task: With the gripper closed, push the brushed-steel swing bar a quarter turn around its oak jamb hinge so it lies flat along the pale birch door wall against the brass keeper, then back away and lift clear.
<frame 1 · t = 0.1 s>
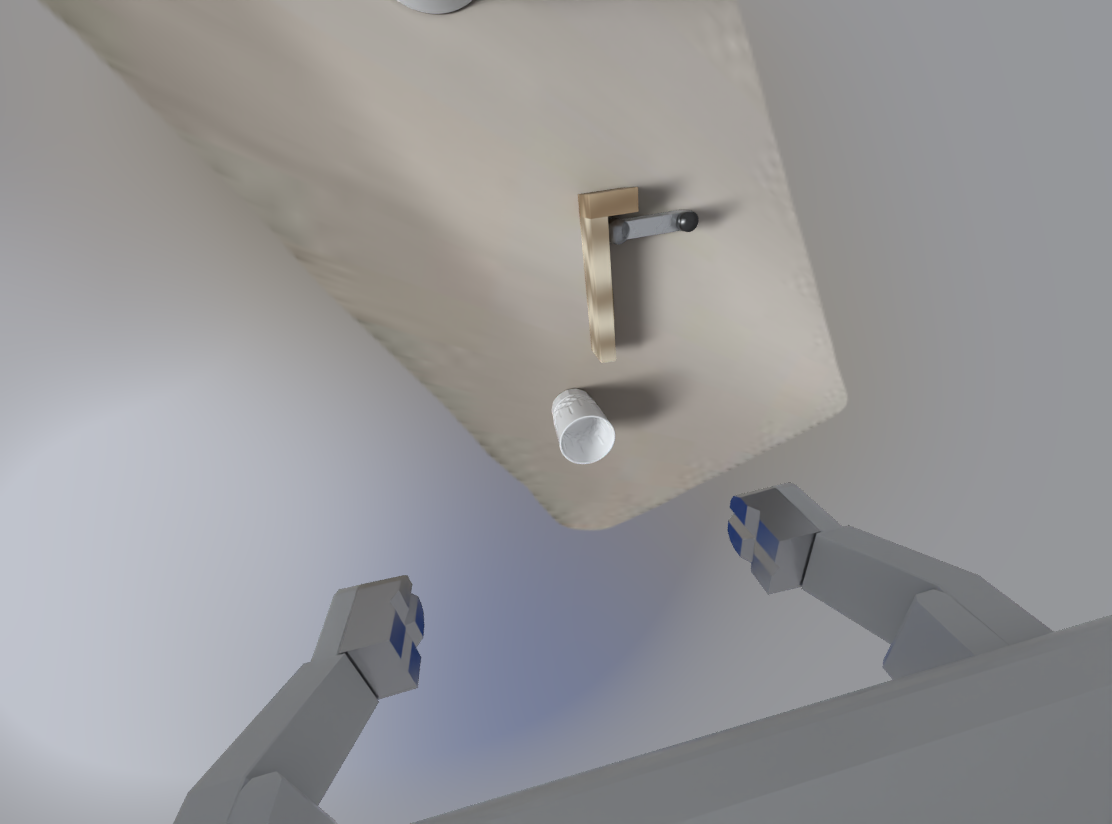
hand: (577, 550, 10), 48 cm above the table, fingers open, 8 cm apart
door frame: (593, 287, 55), on the table
white cup: (571, 406, 64), on the table
swing bar: (647, 226, 50), point 3 cm above the table, hinge at 90.0°
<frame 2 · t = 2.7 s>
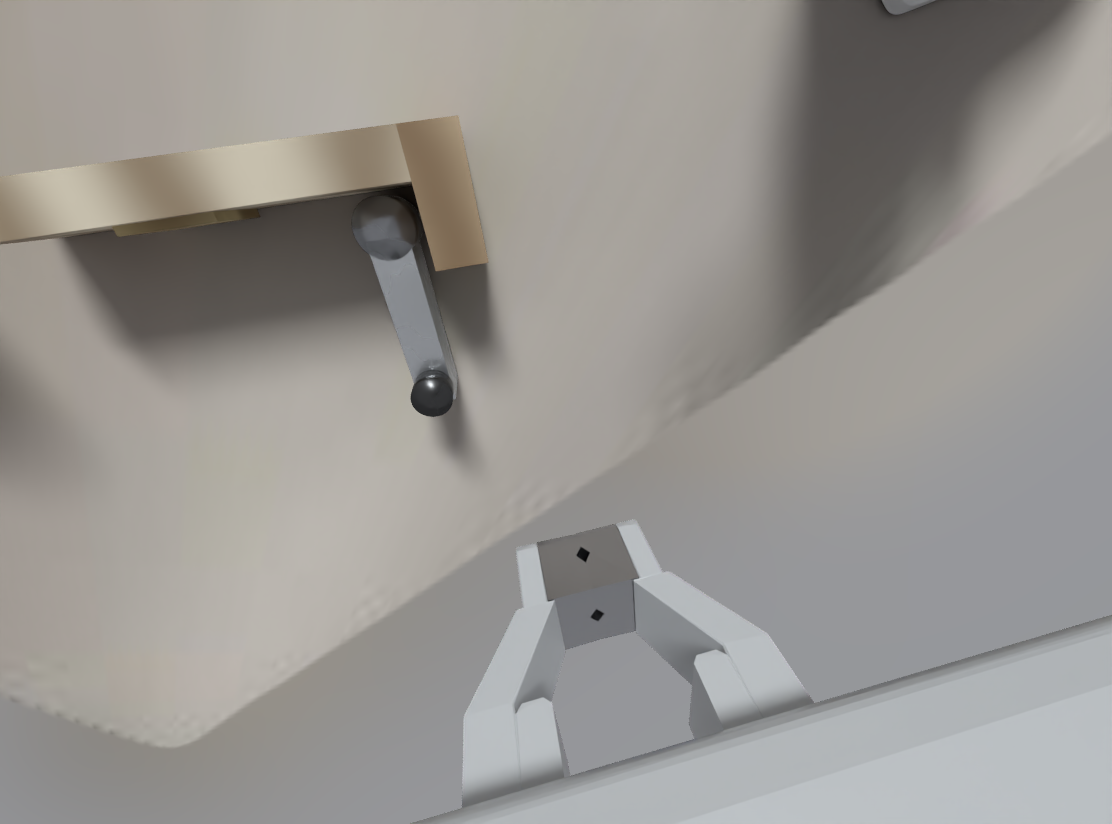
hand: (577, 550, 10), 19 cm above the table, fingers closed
door frame: (241, 187, 20), on the table
swing bar: (413, 308, 22), point 3 cm above the table, hinge at 90.0°
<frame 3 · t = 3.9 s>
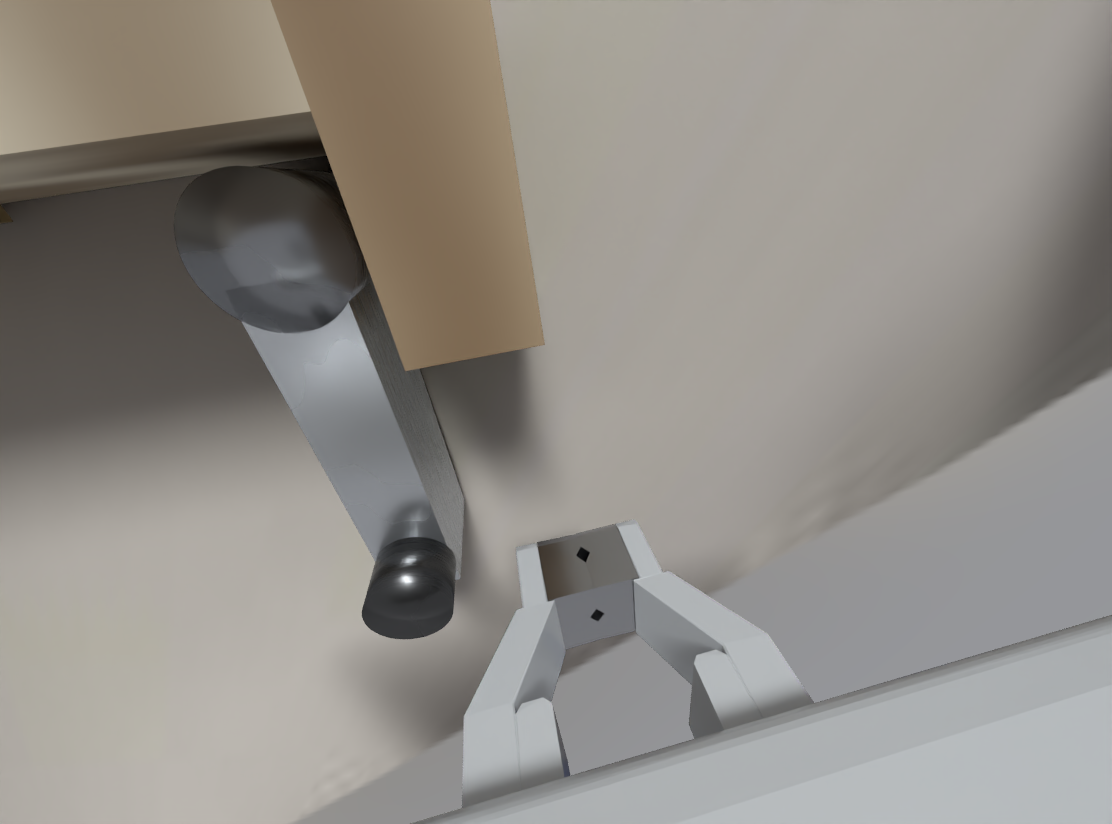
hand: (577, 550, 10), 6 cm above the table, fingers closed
swing bar: (368, 419, 10), point 3 cm above the table, hinge at 90.0°
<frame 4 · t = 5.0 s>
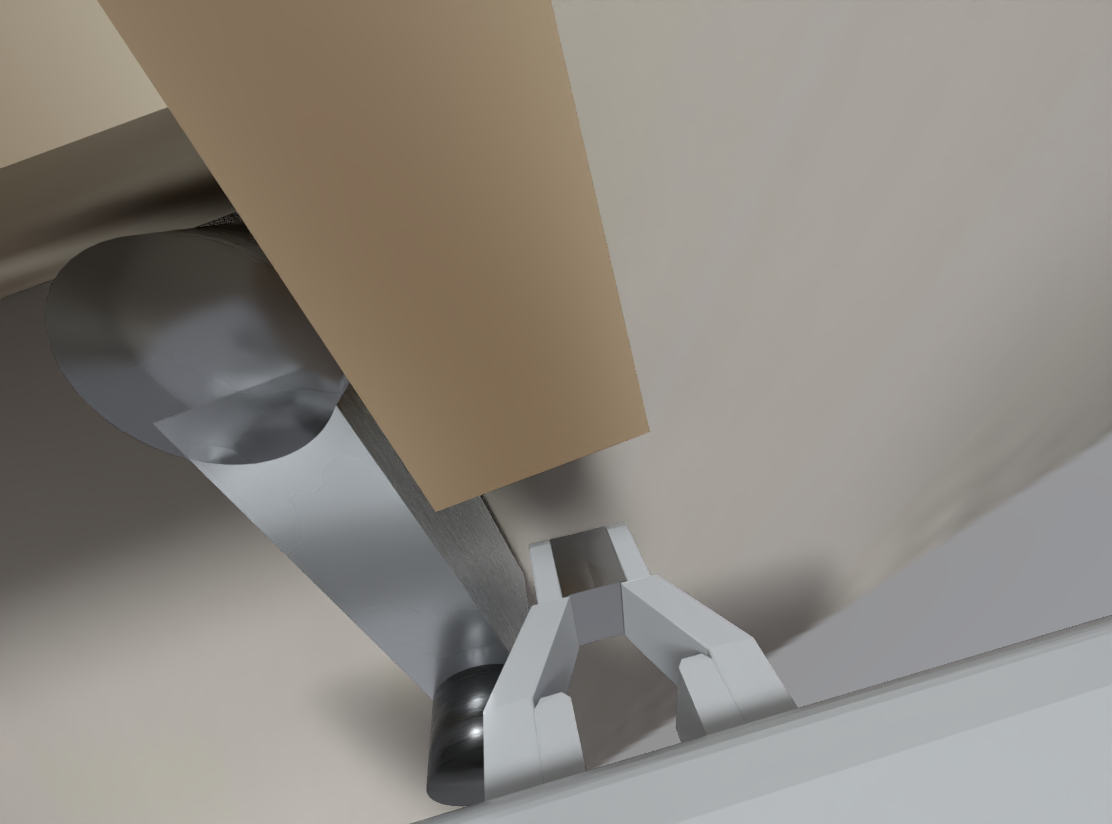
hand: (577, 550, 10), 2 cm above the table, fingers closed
swing bar: (394, 532, 8), point 3 cm above the table, hinge at 89.7°, touching gripper
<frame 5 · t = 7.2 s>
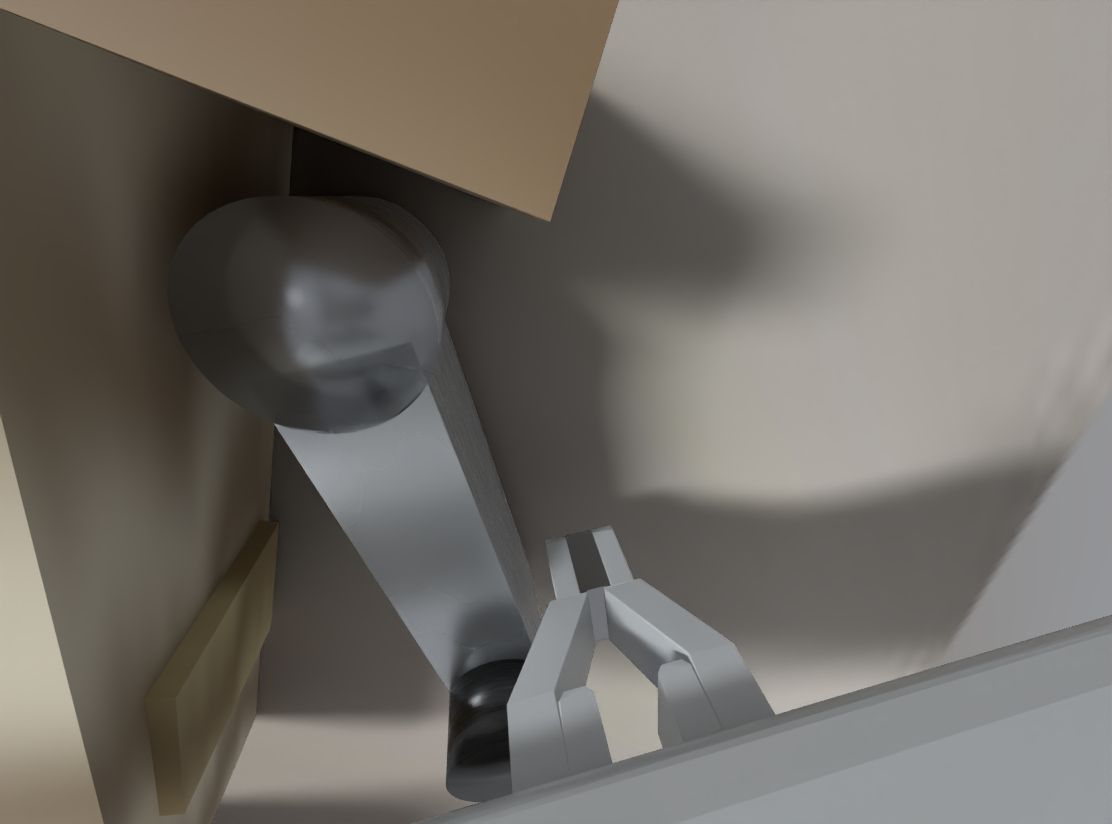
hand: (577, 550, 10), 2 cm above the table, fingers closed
door frame: (222, 516, 10), on the table
swing bar: (437, 518, 8), point 3 cm above the table, hinge at 30.8°, touching gripper
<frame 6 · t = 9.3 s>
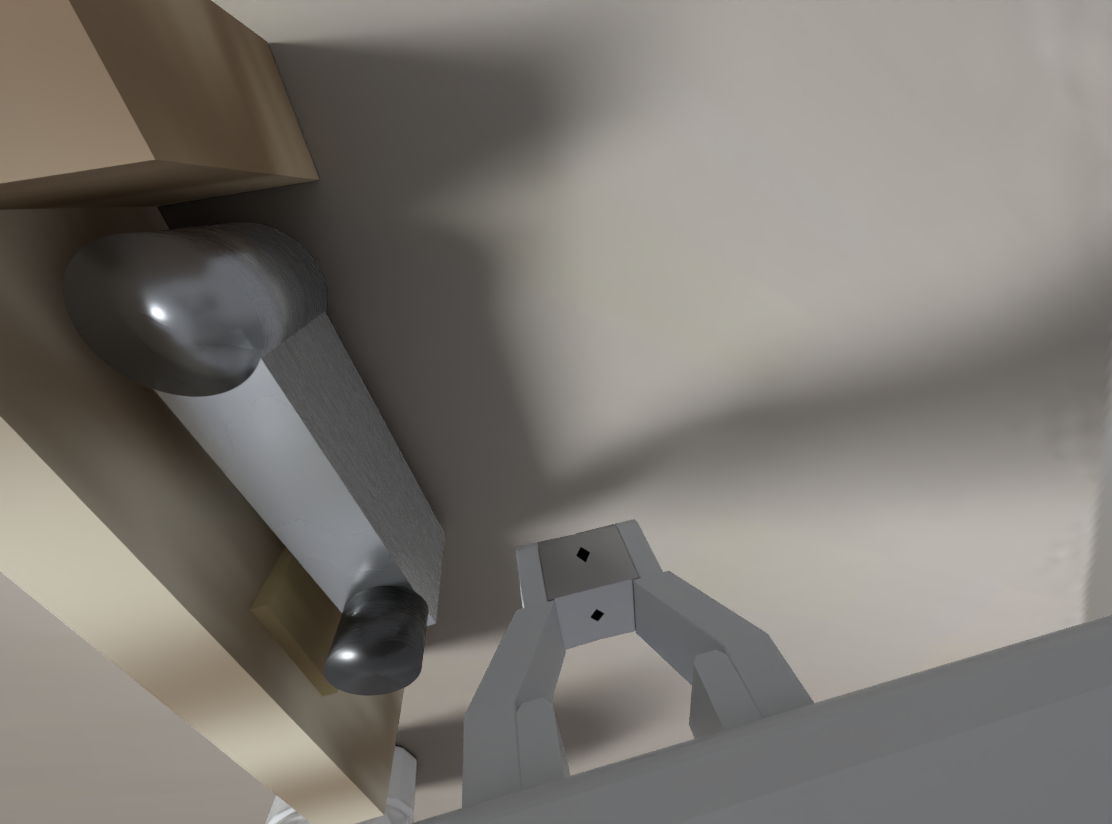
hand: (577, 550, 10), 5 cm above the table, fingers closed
door frame: (293, 506, 14), on the table
white cup: (354, 766, 22), on the table
swing bar: (315, 470, 10), point 3 cm above the table, hinge at 5.2°
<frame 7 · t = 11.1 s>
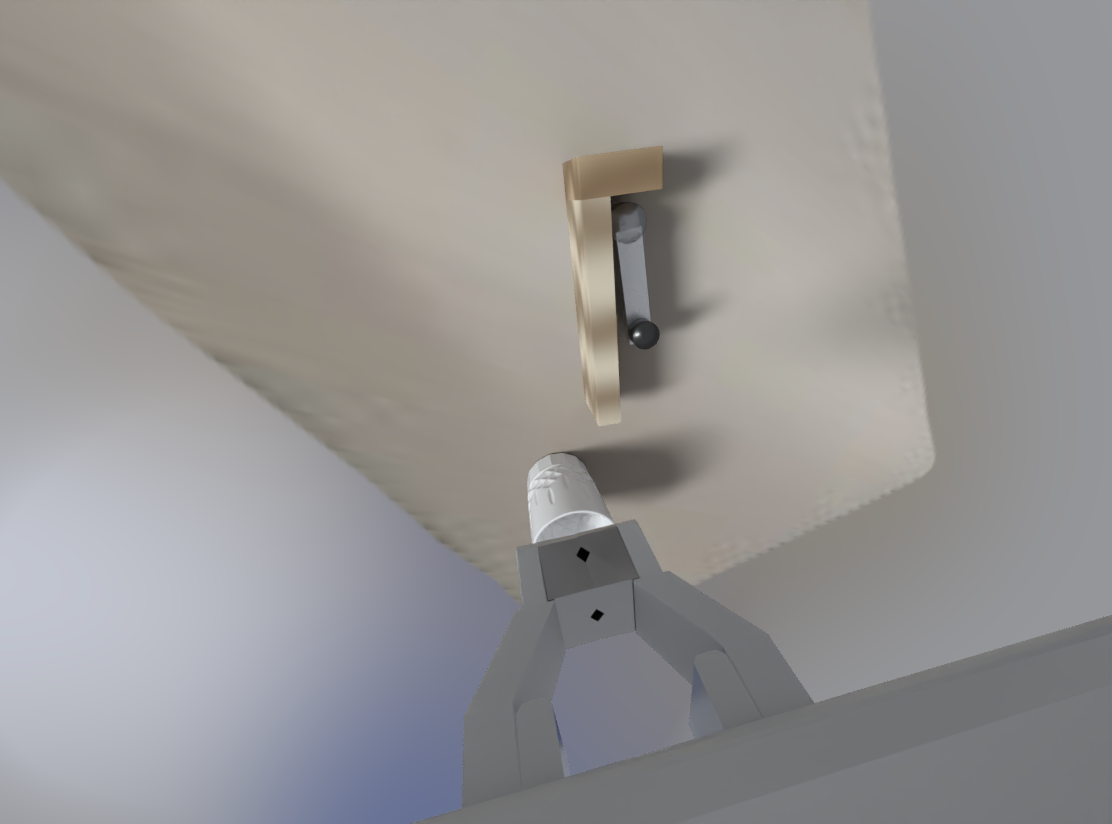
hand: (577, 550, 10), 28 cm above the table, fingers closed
door frame: (587, 310, 36), on the table
white cup: (556, 476, 45), on the table
swing bar: (630, 276, 32), point 3 cm above the table, hinge at 5.2°
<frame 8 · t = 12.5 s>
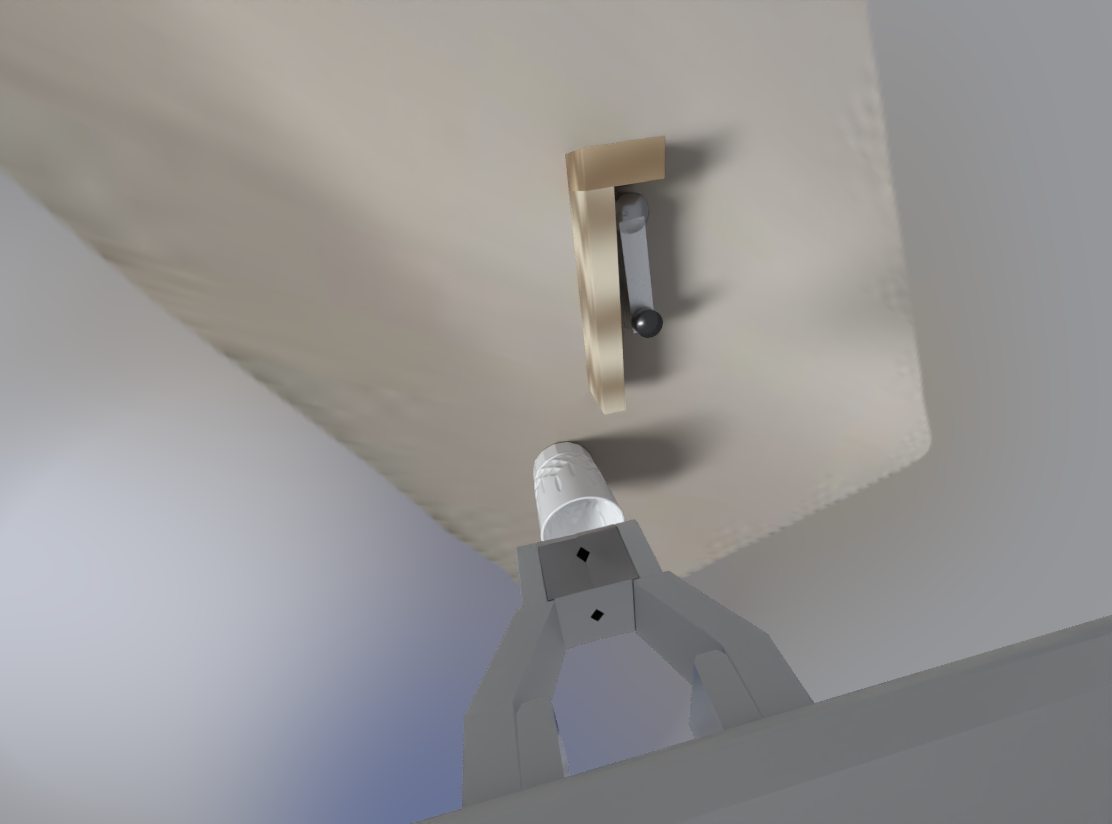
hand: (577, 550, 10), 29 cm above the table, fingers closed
door frame: (590, 300, 37), on the table
white cup: (561, 465, 45), on the table
swing bar: (633, 266, 33), point 3 cm above the table, hinge at 5.2°
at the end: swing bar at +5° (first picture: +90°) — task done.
